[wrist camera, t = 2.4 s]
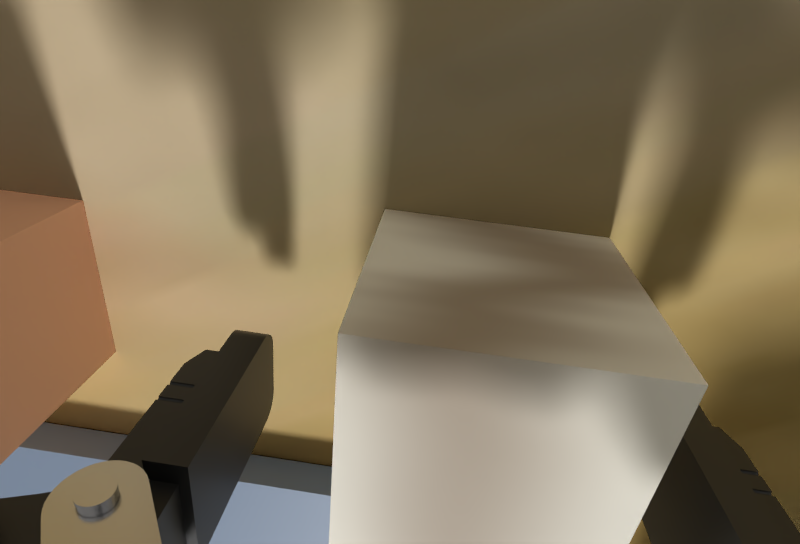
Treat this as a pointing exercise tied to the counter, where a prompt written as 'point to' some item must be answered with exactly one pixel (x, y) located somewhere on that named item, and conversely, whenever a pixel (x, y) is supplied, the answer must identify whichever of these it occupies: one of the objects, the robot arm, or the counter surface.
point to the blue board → (245, 512)
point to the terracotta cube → (46, 311)
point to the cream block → (501, 389)
